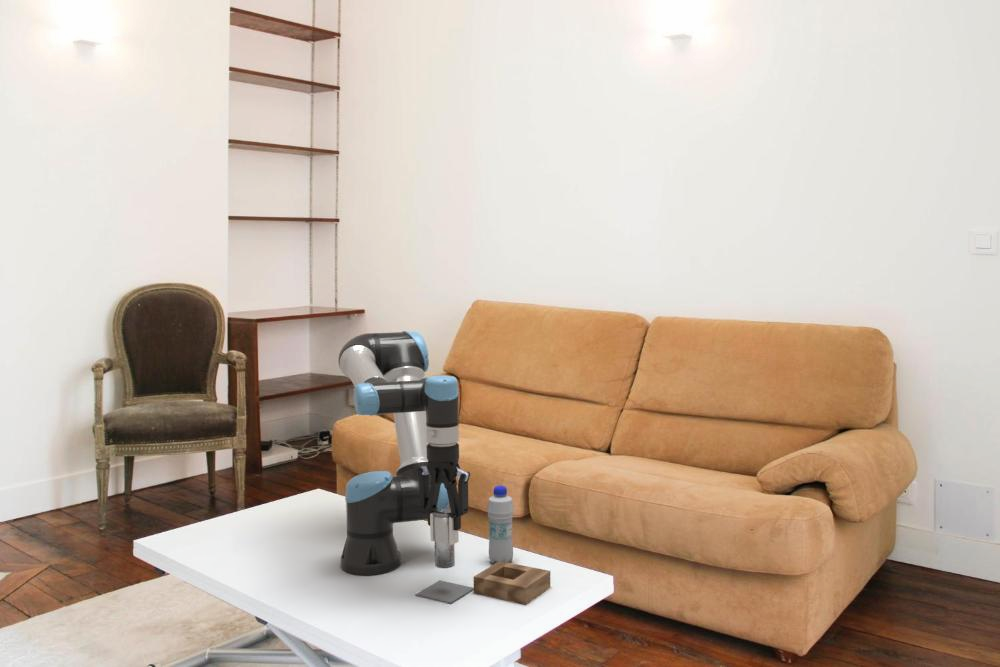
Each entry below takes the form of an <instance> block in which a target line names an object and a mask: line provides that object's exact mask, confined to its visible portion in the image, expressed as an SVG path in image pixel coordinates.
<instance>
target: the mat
mask: <svg viewBox="0 0 1000 667" xmlns="http://www.w3.org/2000/svg"><path fill="white" fill-rule="evenodd" d="M471 592H474V586H467V585H464V584H460V583H459V584H458V583H454V582H449V581H446V580H445V581H444V580H437V581H435V582H434V583H432V584H431V585H429V586H427V587H426V588H423V589H422V590H420V591H419V592H417V593H415V596H416V597H419V598H423V599H427V600H431V601H436V602H441V603H446V604H449V605H452V604H454V603H456V602H457V601H459V600H460V599H462V598H464V597H465V596H466V595H468V594H470V593H471Z"/></svg>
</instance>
